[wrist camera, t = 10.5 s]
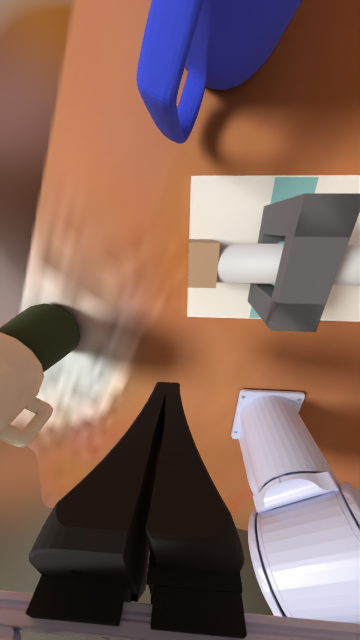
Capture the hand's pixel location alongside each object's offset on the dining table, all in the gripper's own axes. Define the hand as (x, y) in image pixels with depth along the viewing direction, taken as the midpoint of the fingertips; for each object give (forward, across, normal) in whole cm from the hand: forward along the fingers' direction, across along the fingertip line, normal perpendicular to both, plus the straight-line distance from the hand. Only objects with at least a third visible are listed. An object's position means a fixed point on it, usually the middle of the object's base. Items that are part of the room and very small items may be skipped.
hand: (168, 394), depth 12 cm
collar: (+10, -8, -7) cm, 15 cm away
